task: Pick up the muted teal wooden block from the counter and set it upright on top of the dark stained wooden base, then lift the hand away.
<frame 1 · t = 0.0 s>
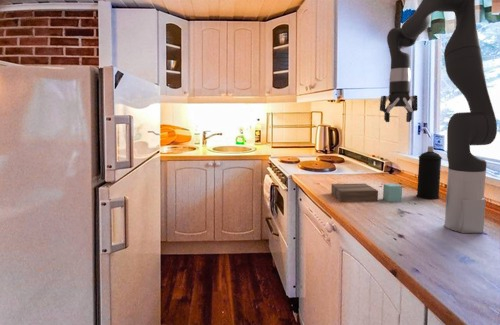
hand: (397, 122, 146), 29 cm above the worktop, fingers open, 8 cm apart
teal block: (392, 200, 139), on the worktop
stacking base: (353, 197, 144), on the worktop
aerosol can: (427, 197, 143), on the worktop
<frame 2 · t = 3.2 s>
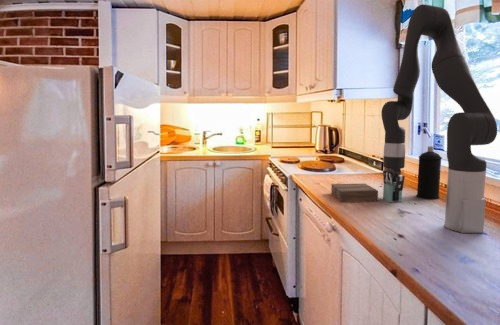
hand: (392, 199, 139), 0 cm above the worktop, fingers closed on teal block, 5 cm apart
teal block: (392, 200, 139), on the worktop, touching gripper
everything else where it was.
when the fingers open (6 cm above the worktop, at t = 8.7 s): teal block drops 1 cm, resting on stacking base.
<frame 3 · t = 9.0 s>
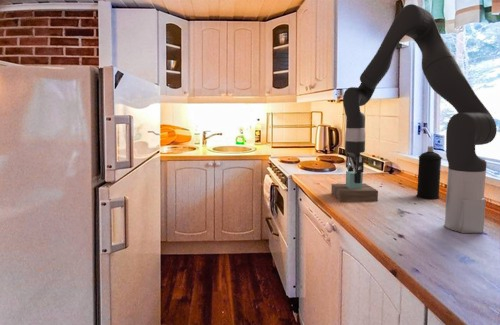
hand: (353, 181, 143), 7 cm above the worktop, fingers open, 8 cm apart
teal block: (353, 187, 144), point 4 cm above the worktop, touching stacking base
everything else where it was.
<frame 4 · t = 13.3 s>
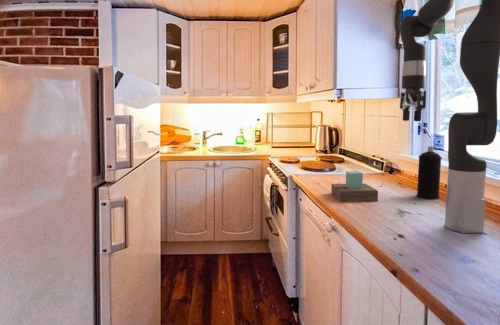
hand: (411, 121, 131), 30 cm above the worktop, fingers open, 8 cm apart
nothing on the worktop moved.
at the end: teal block 0.0 cm off-centre on the stacking base, point 4.0 cm above the stacking base's base; teal block tilted 0°; the gripper is holding nothing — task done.
